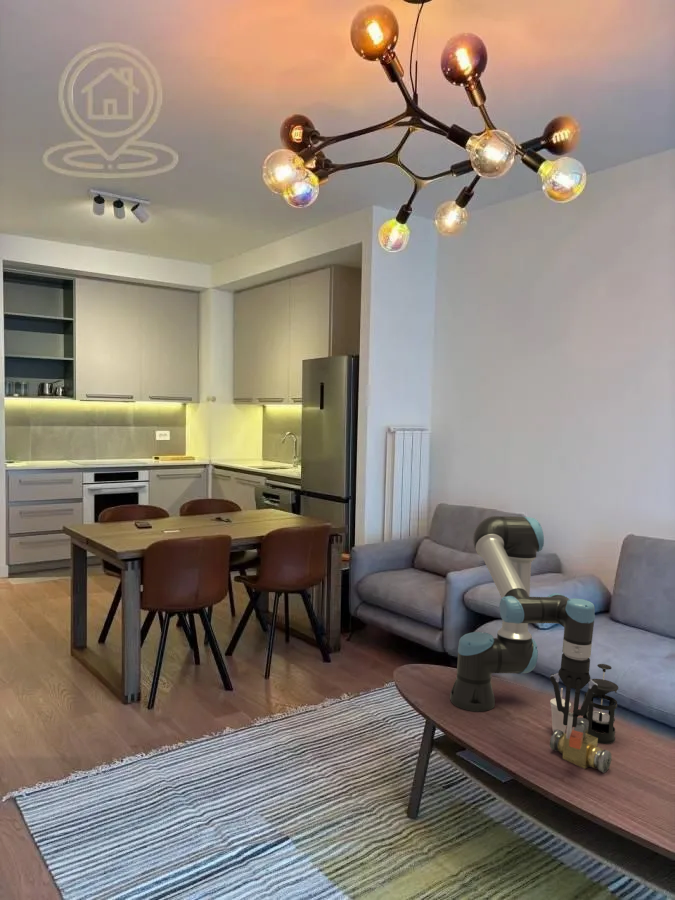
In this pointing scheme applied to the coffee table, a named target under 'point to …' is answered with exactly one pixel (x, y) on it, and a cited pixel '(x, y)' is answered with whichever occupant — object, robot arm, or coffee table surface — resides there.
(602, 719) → the french press
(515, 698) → the coffee table surface
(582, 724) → the lever
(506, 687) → the coffee table surface
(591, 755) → the pipe valve
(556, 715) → the smoothie
